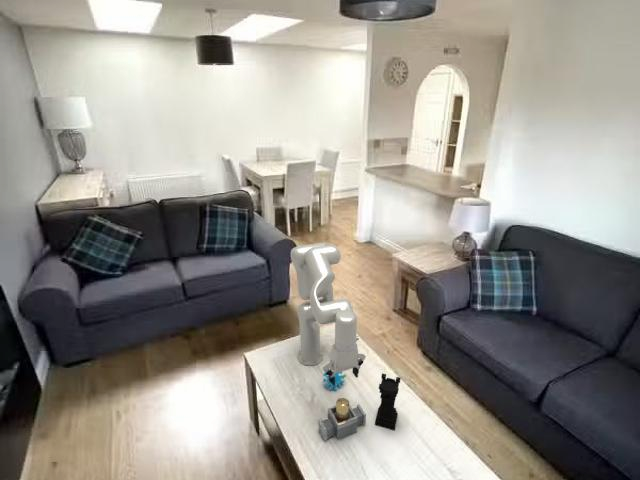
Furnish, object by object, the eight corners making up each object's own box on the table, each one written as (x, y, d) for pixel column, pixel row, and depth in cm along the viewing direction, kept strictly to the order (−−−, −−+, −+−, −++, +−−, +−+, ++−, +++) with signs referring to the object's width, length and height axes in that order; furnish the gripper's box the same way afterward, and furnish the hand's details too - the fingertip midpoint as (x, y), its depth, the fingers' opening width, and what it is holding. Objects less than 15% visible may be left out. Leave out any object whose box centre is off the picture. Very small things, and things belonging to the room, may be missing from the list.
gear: (325, 392, 156) (322, 368, 160) (321, 392, 161) (318, 369, 165) (348, 388, 160) (345, 364, 164) (343, 388, 165) (340, 366, 169)
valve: (316, 427, 142) (316, 412, 139) (356, 411, 149) (357, 397, 146) (326, 445, 135) (326, 430, 132) (367, 428, 142) (368, 413, 138)
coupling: (333, 413, 141) (334, 400, 138) (345, 409, 142) (345, 396, 140) (339, 423, 136) (339, 410, 134) (351, 419, 138) (351, 405, 135)
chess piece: (397, 414, 147) (401, 377, 139) (394, 430, 141) (399, 392, 133) (378, 409, 150) (381, 372, 142) (374, 424, 143) (377, 387, 135)
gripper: (361, 330, 134) (359, 365, 141) (318, 342, 128) (318, 378, 135) (371, 343, 128) (368, 378, 135) (327, 356, 122) (327, 393, 129)
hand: (343, 378), depth 135 cm, fingers open, 9 cm apart
